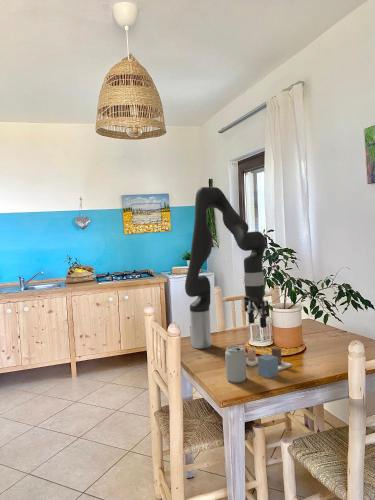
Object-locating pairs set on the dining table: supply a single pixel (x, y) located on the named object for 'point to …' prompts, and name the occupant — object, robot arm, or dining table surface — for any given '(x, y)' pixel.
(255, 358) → the short post
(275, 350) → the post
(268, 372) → the blue-grey block
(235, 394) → the dining table surface
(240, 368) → the can
